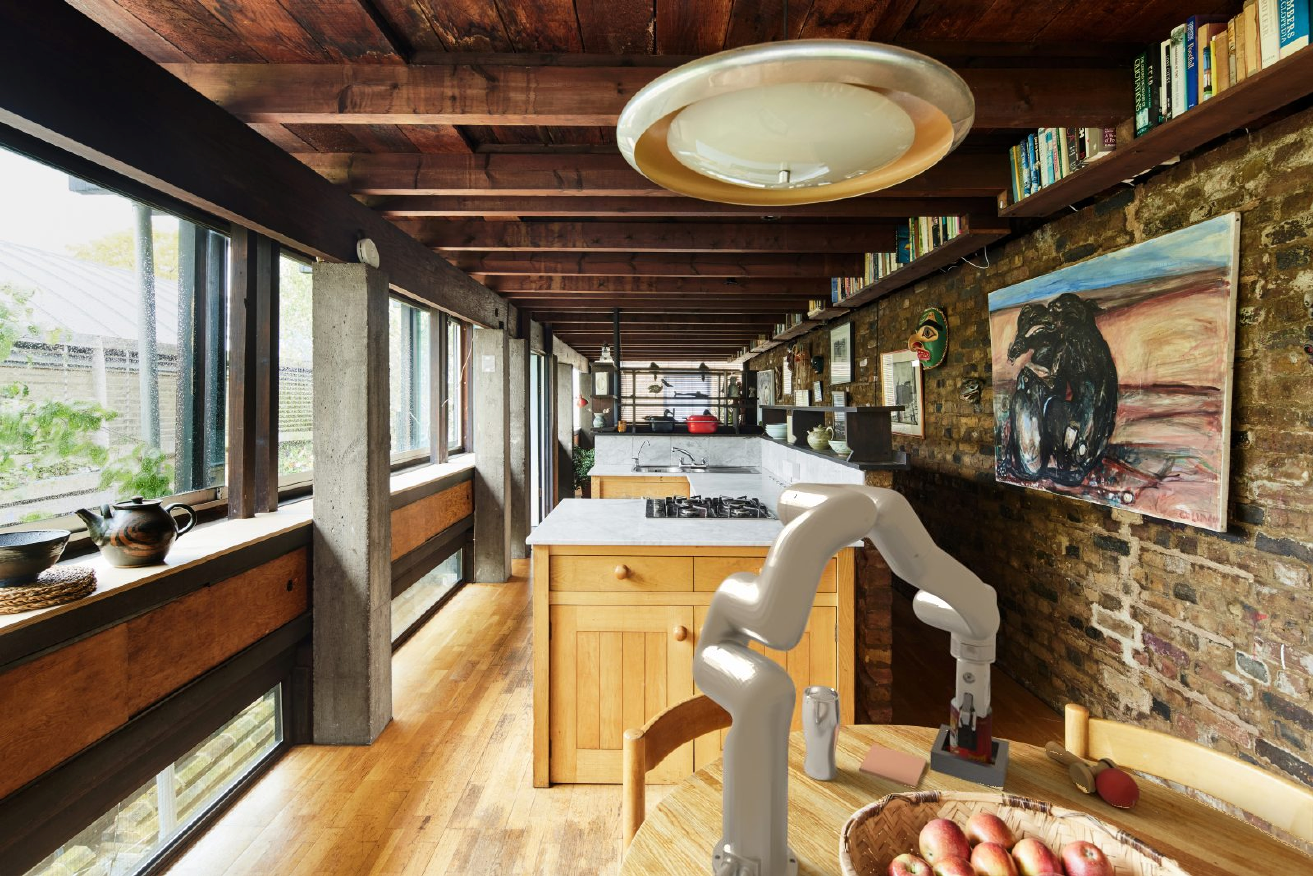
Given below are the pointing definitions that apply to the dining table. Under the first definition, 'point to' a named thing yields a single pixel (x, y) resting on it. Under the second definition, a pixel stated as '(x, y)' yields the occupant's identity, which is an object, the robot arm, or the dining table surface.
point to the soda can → (982, 737)
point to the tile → (893, 765)
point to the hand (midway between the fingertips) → (970, 736)
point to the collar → (970, 761)
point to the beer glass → (821, 730)
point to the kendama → (1098, 777)
